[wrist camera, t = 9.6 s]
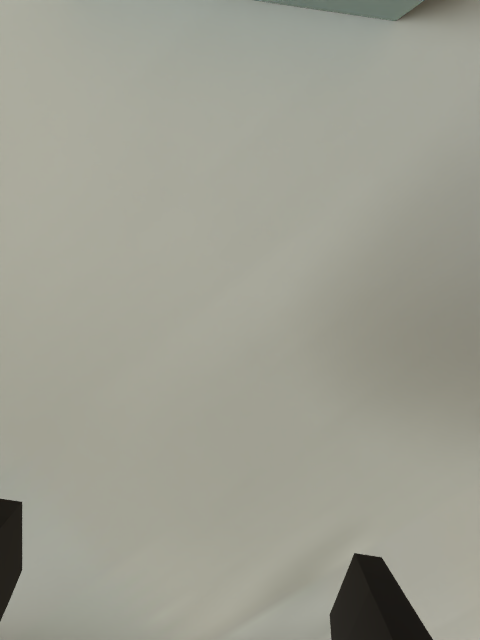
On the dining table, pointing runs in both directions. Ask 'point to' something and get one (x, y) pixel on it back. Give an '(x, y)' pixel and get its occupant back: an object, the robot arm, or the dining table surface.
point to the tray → (357, 7)
